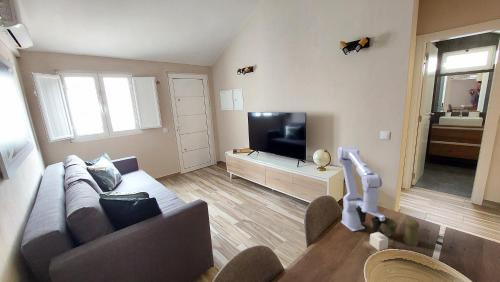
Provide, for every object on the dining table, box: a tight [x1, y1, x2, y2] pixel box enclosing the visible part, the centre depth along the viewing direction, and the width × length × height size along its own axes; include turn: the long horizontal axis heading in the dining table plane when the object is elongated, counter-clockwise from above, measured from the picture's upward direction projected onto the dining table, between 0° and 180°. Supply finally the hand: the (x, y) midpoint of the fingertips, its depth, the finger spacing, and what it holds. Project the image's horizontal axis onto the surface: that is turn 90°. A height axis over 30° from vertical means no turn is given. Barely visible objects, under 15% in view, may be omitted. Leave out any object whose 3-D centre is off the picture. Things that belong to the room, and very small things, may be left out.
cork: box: [402, 218, 420, 247], centre depth 100 cm, size 6×6×11 cm
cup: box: [379, 216, 399, 238], centre depth 106 cm, size 8×7×8 cm
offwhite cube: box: [369, 231, 389, 251], centre depth 96 cm, size 5×5×5 cm
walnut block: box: [362, 239, 394, 255], centre depth 96 cm, size 9×9×3 cm
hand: (368, 226), depth 99 cm, fingers open, 7 cm apart
